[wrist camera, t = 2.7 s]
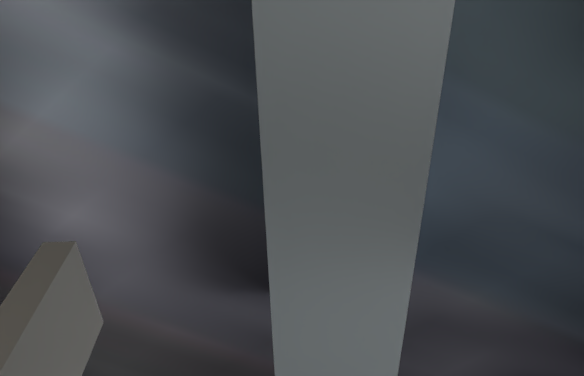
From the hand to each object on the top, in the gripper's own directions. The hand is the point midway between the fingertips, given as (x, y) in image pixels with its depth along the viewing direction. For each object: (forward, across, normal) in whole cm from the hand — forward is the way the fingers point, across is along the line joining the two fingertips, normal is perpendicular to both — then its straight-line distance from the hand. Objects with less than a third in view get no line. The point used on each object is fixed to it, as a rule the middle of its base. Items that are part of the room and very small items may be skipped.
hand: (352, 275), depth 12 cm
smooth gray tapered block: (+7, 0, -1) cm, 7 cm away
